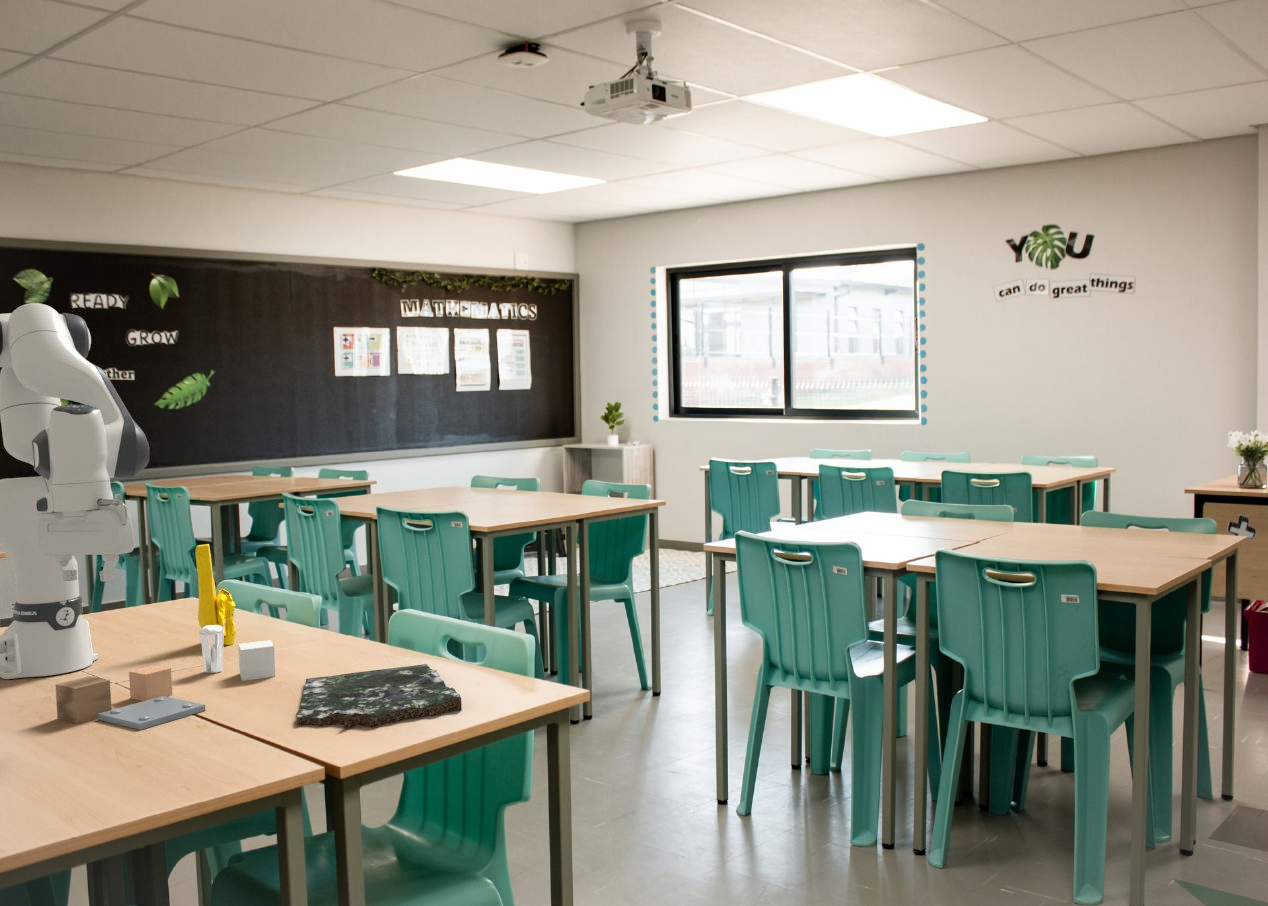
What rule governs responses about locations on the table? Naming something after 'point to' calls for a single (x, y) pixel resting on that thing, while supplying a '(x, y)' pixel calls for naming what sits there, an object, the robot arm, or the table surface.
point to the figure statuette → (213, 597)
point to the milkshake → (212, 647)
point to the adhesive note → (256, 660)
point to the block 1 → (82, 699)
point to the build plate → (151, 712)
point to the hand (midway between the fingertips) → (88, 580)
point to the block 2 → (150, 682)
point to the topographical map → (376, 697)
